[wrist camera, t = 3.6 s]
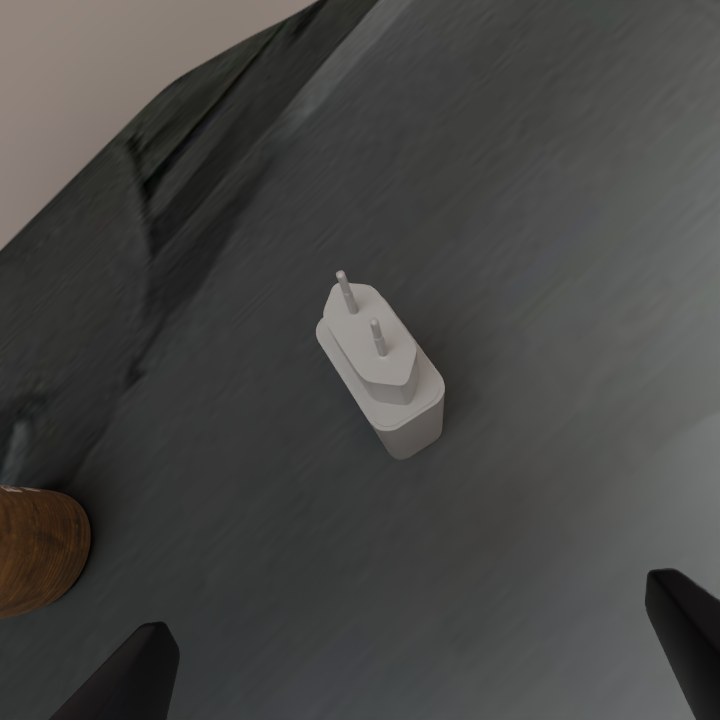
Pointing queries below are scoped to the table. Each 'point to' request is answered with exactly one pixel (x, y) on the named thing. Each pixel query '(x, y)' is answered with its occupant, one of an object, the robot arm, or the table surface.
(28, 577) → the utensil holder
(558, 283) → the table surface
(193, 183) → the table surface
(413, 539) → the table surface
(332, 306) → the power adapter
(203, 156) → the table surface
